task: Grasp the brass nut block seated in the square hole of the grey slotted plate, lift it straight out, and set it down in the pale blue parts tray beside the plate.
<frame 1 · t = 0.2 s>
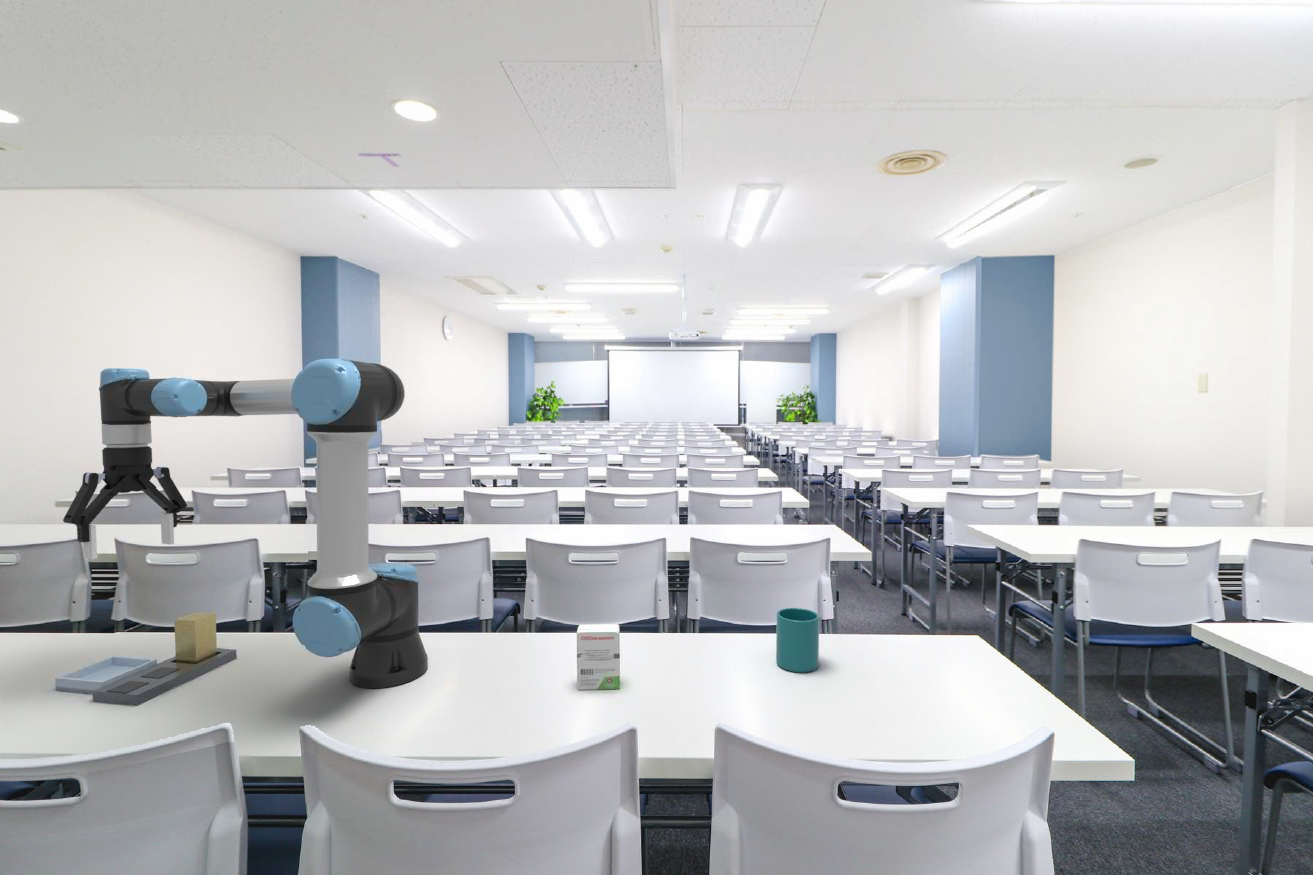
hand: (131, 550, 123), 27 cm above the table, fingers open, 13 cm apart
cup: (795, 662, 134), on the table
ink box: (598, 685, 123), on the table
grey slotted plate: (170, 678, 125), on the table
parts tray: (108, 680, 124), on the table
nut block: (196, 666, 131), resting in grey slotted plate
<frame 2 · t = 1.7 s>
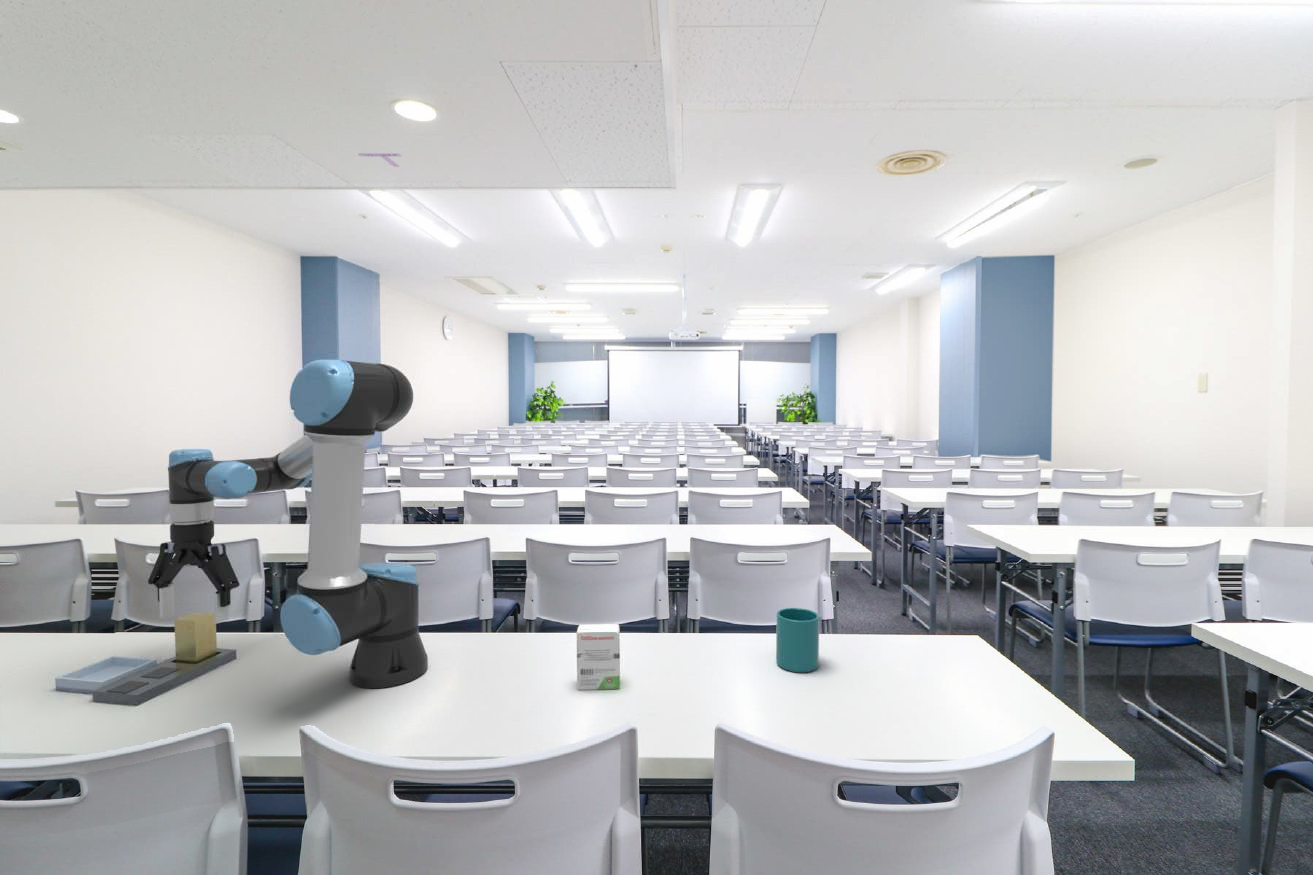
hand: (194, 618, 131), 10 cm above the table, fingers open, 13 cm apart
nothing on the table moved.
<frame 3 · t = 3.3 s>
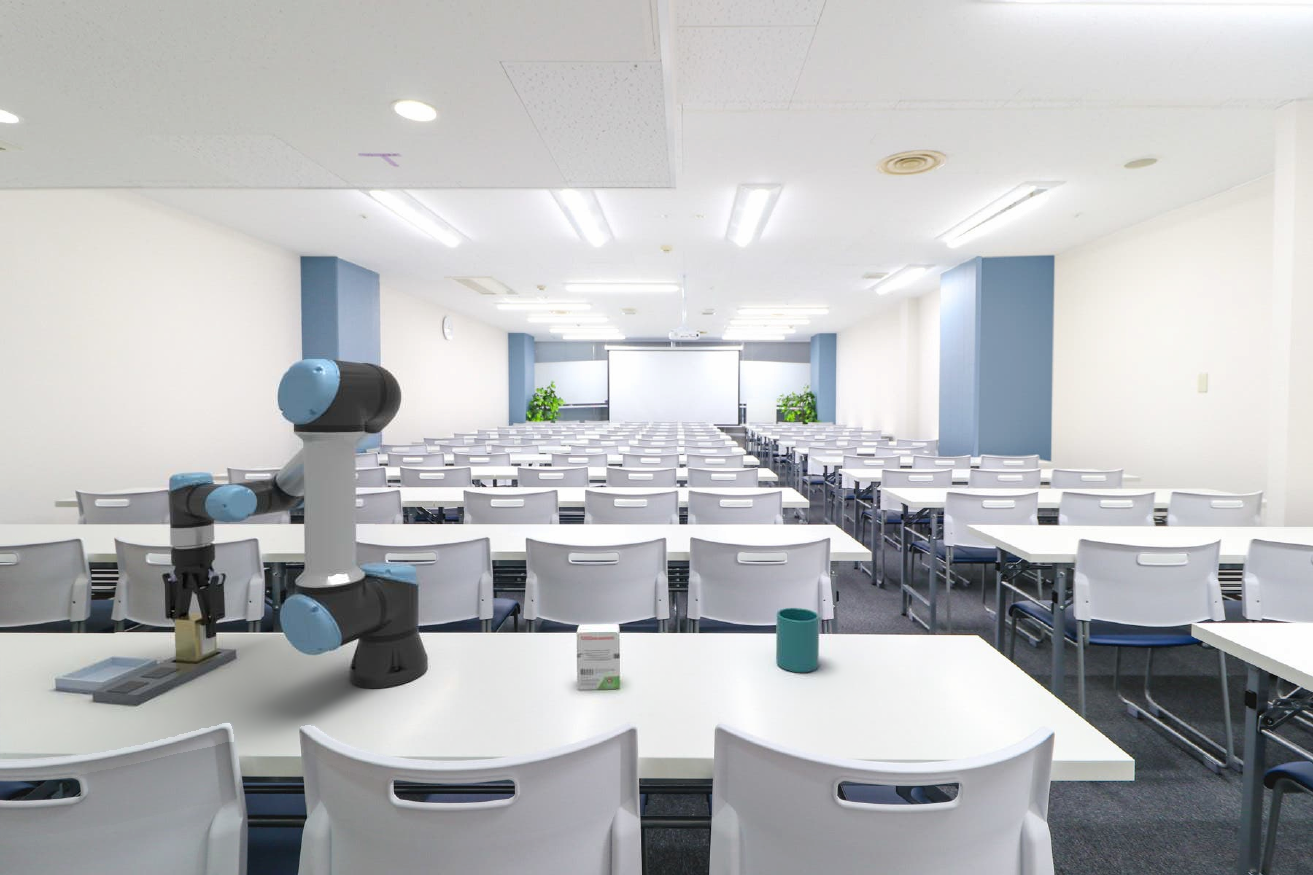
hand: (196, 651, 131), 3 cm above the table, fingers closed on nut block, 5 cm apart
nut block: (196, 666, 131), resting in grey slotted plate, touching gripper
everything else where it was.
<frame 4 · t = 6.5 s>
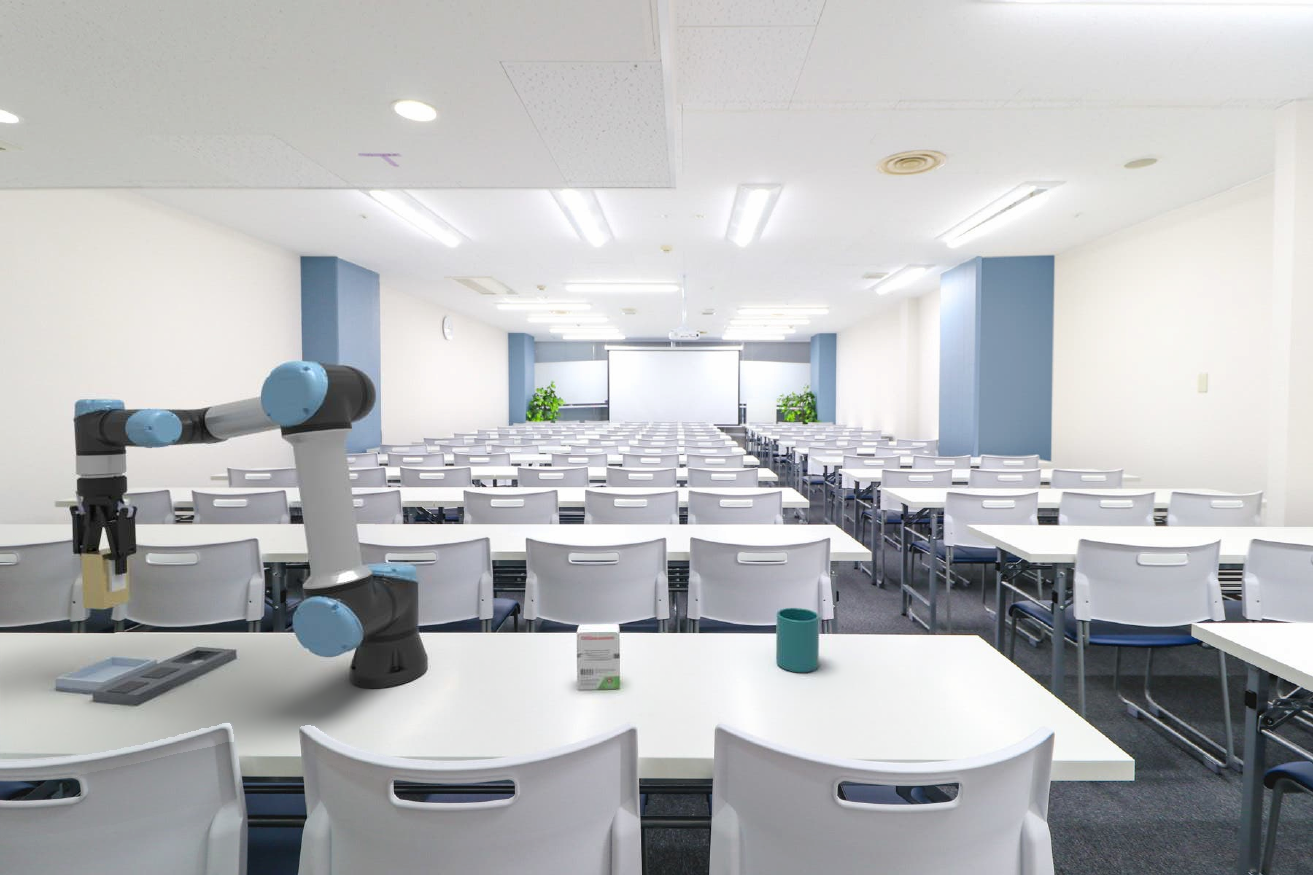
hand: (106, 588, 123), 19 cm above the table, fingers closed on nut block, 5 cm apart
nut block: (106, 604, 124), point 16 cm above the table, touching gripper
everything else where it was.
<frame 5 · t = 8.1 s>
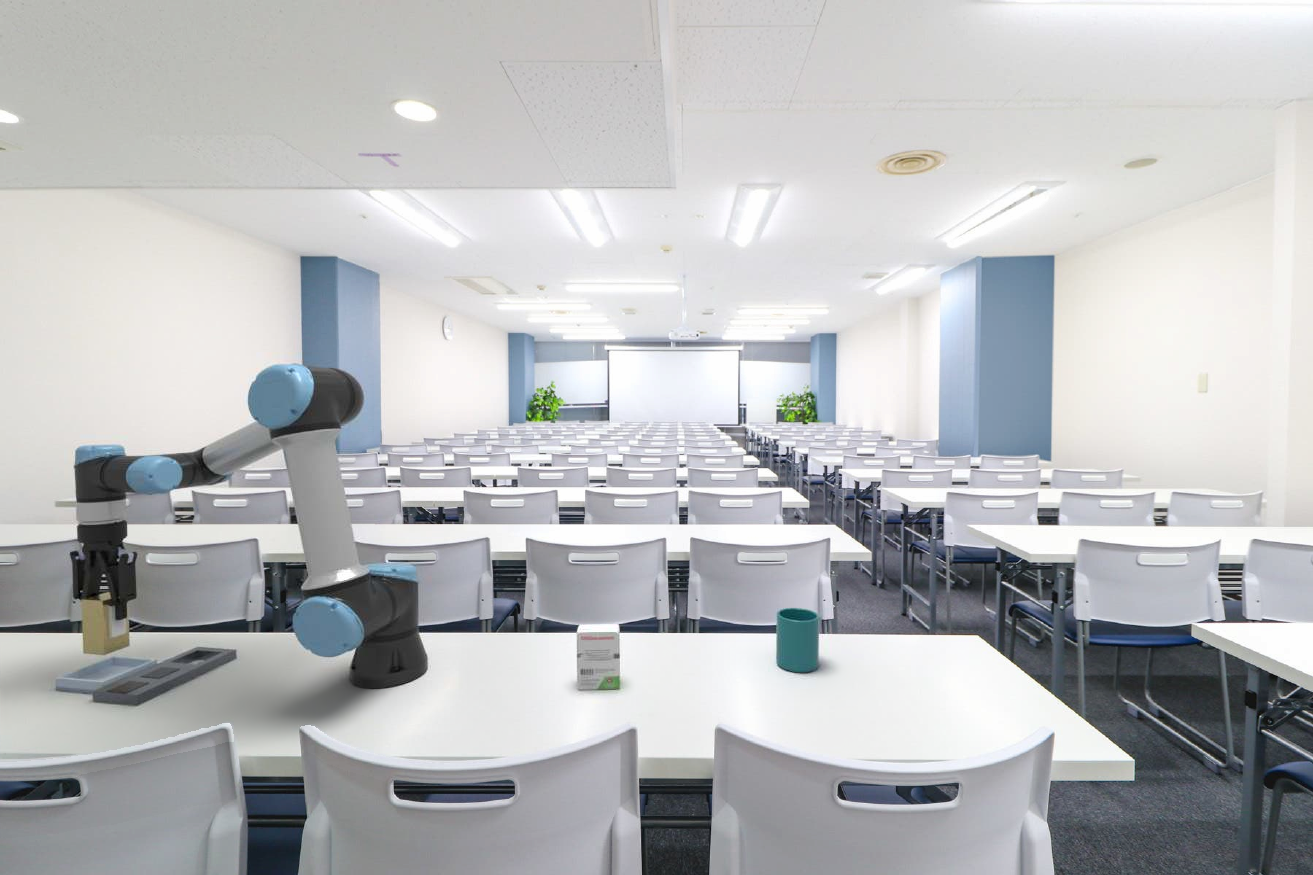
hand: (106, 633, 124), 10 cm above the table, fingers closed on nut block, 5 cm apart
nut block: (106, 649, 124), point 6 cm above the table, touching gripper
everything else where it was.
when the fingers open (6 cm above the table, at t = 9.6 s): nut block drops 2 cm, resting on parts tray.
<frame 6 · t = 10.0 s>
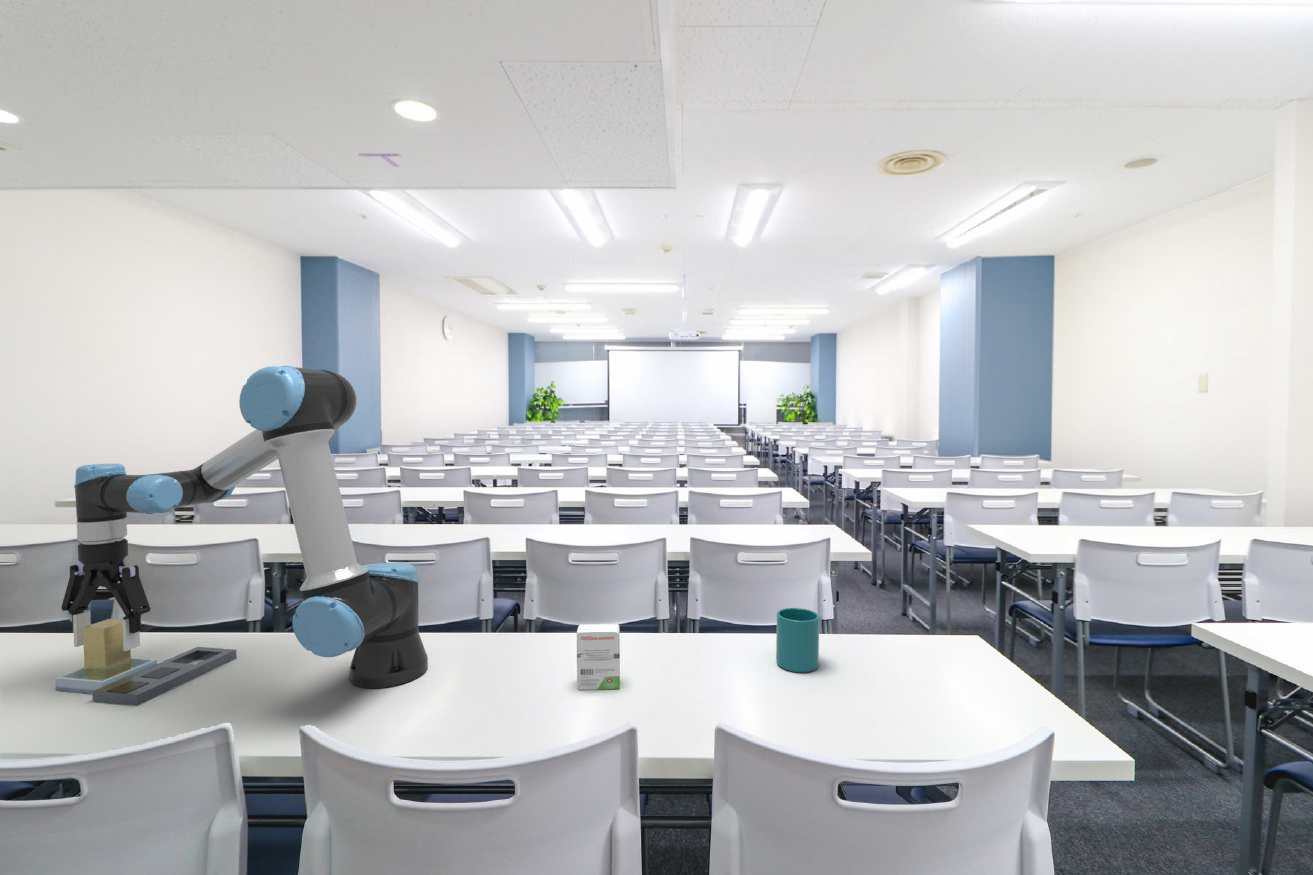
hand: (107, 646, 124), 7 cm above the table, fingers open, 11 cm apart
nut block: (108, 676, 124), point 1 cm above the table, touching parts tray
everything else where it was.
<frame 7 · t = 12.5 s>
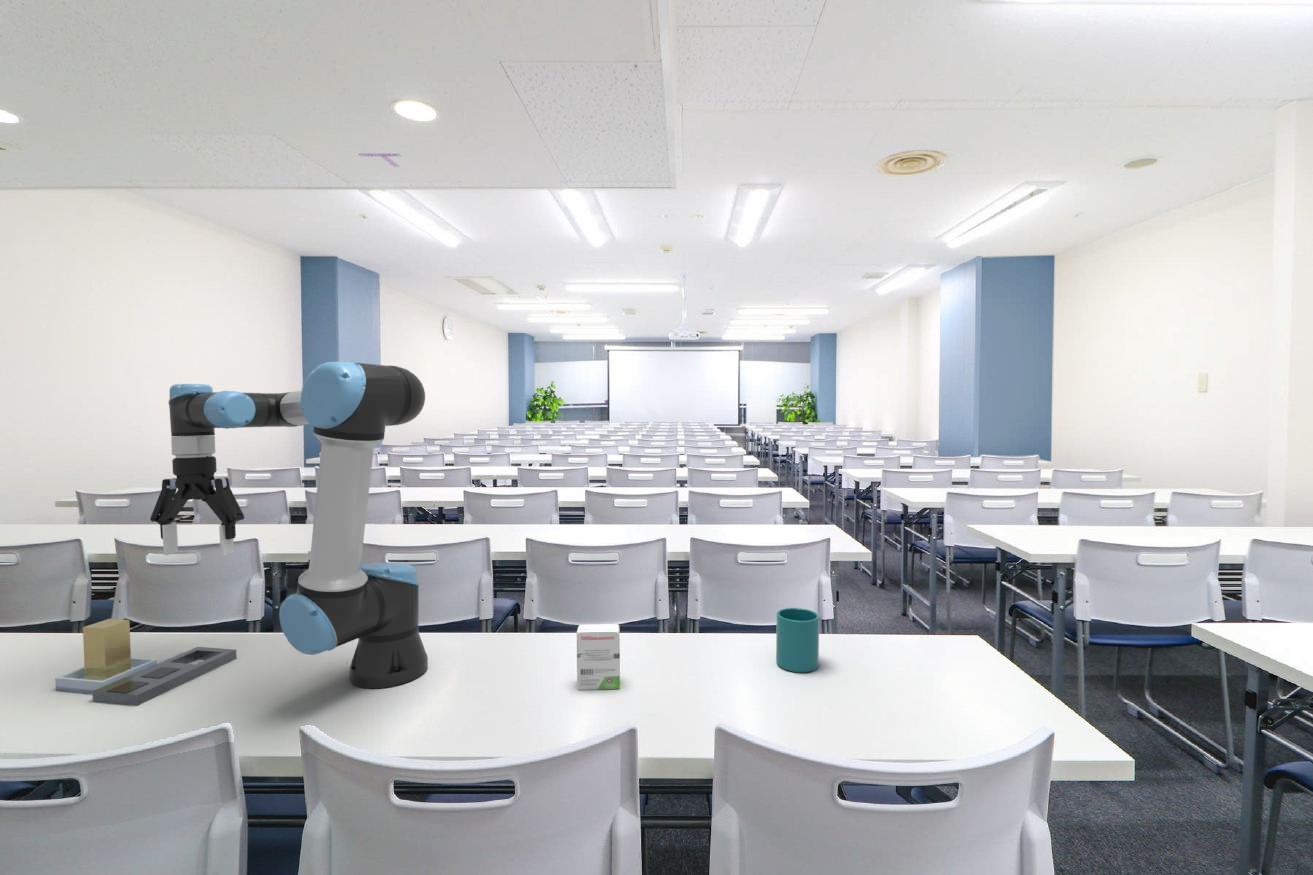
hand: (199, 554, 131), 24 cm above the table, fingers open, 13 cm apart
nothing on the table moved.
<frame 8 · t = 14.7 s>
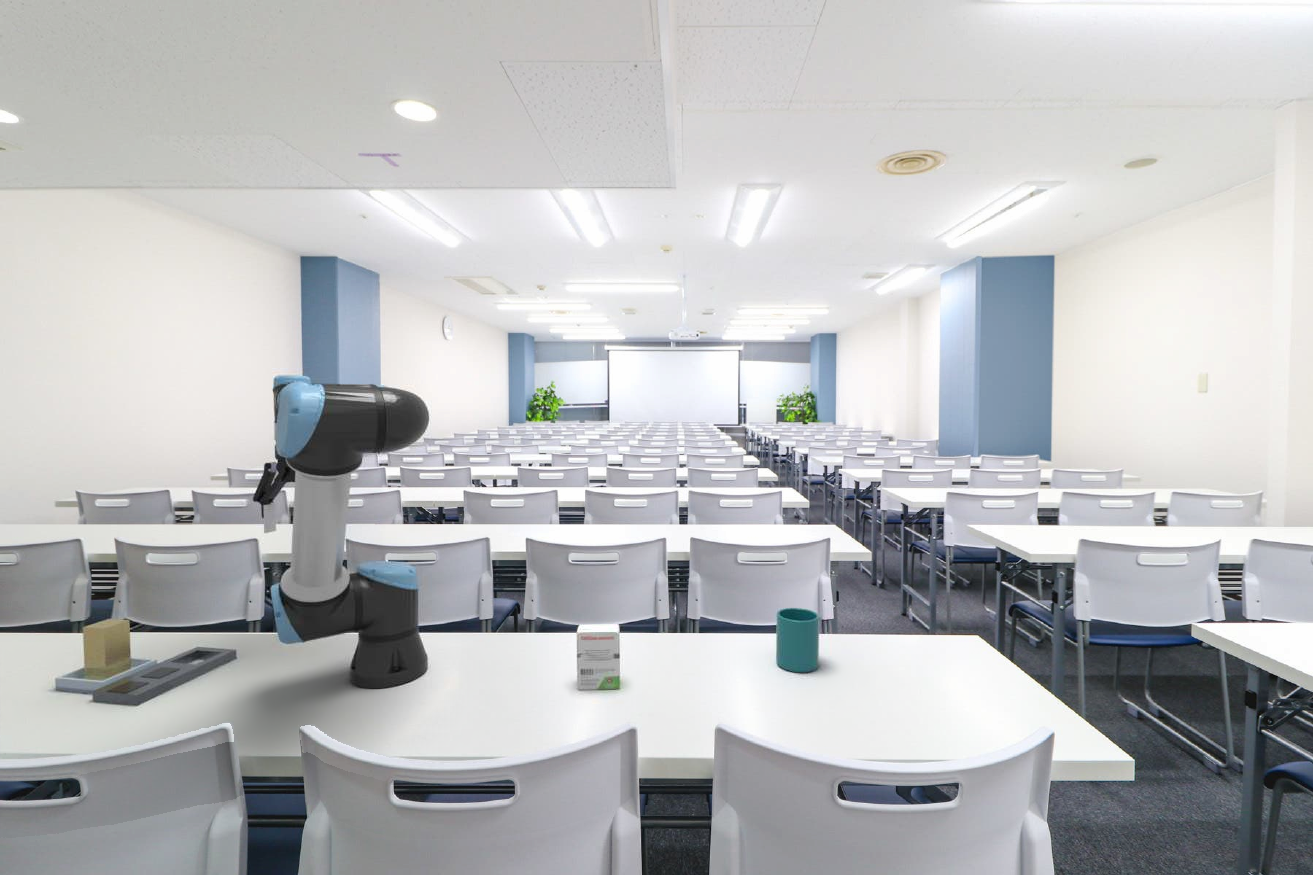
hand: (295, 533, 142), 27 cm above the table, fingers open, 13 cm apart
nothing on the table moved.
at the end: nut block inside the target area on the parts tray (0.0 cm from its centre), point 0.8 cm above the parts tray's base; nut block tilted 0°; the gripper is holding nothing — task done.
